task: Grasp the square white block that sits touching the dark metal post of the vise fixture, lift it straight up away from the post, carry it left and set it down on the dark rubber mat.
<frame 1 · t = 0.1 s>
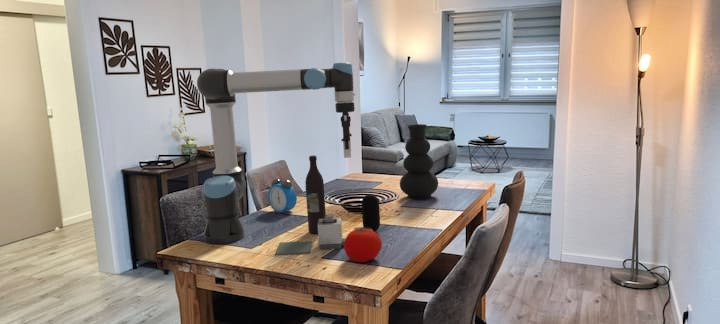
hand: (347, 154, 205), 28 cm above the table, fingers open, 13 cm apart
decorative object: (371, 233, 194), on the table
rubber mat: (294, 248, 180), on the table
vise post: (331, 245, 181), on the table
alarm clock: (283, 211, 232), on the table
wine bottle: (317, 232, 199), on the table
white block: (330, 240, 181), point 2 cm above the table, touching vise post
tomato: (363, 260, 165), on the table
vase: (419, 197, 246), on the table
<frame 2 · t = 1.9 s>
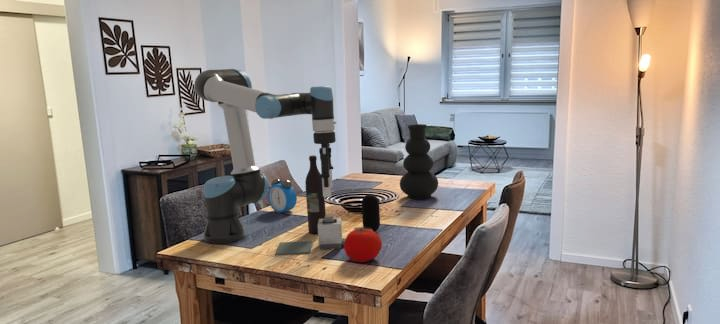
hand: (328, 191, 178), 20 cm above the table, fingers open, 13 cm apart
nothing on the table moved.
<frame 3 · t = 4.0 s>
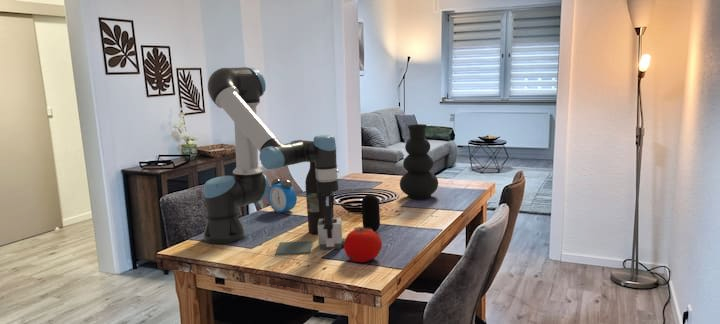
hand: (330, 242, 181), 1 cm above the table, fingers closed on white block, 8 cm apart
white block: (330, 240, 181), point 2 cm above the table, touching gripper, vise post
everything else where it was.
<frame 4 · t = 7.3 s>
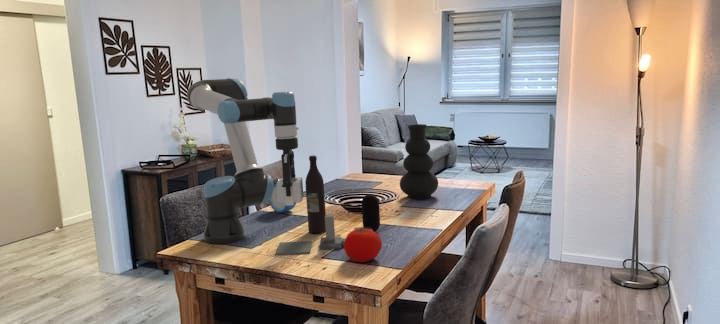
hand: (291, 201, 177), 17 cm above the table, fingers closed on white block, 8 cm apart
white block: (291, 199, 177), point 18 cm above the table, touching gripper
everything else where it was.
when the fingers open (1 cm above the table, at t = 10.5 s): white block drops 2 cm, resting on rubber mat.
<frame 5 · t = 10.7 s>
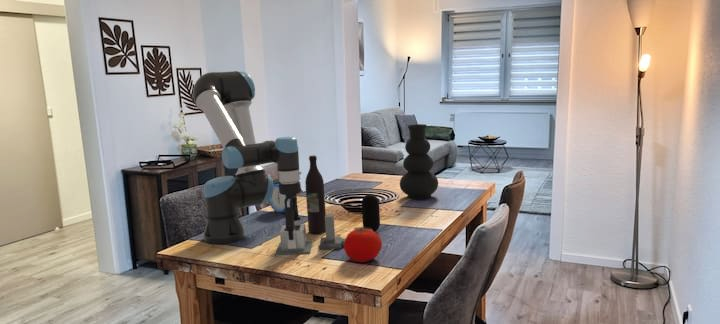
hand: (294, 243, 180), 2 cm above the table, fingers open, 10 cm apart
white block: (294, 246, 180), point 1 cm above the table, touching rubber mat
everything else where it was.
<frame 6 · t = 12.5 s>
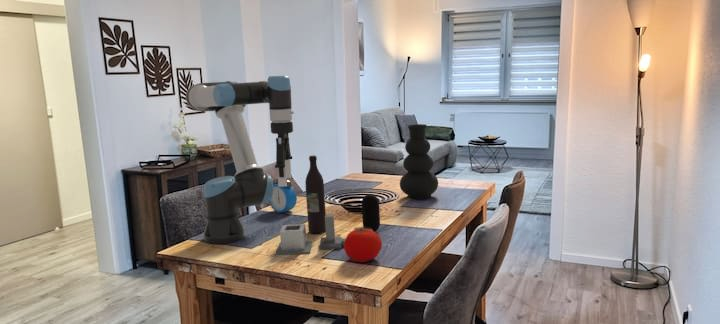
hand: (285, 181, 178), 24 cm above the table, fingers open, 13 cm apart
nothing on the table moved.
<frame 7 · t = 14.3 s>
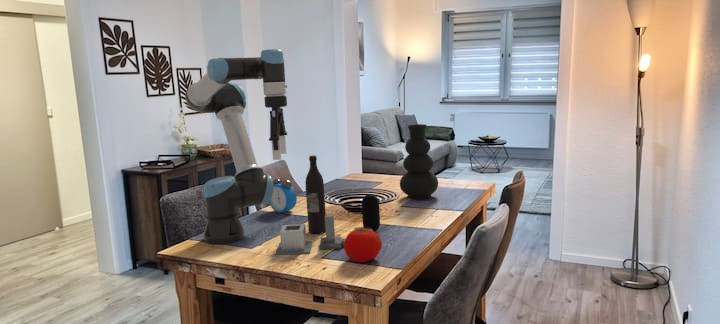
hand: (280, 156, 178), 33 cm above the table, fingers open, 13 cm apart
nothing on the table moved.
at the end: white block inside the target area on the rubber mat (0.0 cm from its centre), point 0.6 cm above the rubber mat's base; white block tilted 0°; the gripper is holding nothing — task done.
